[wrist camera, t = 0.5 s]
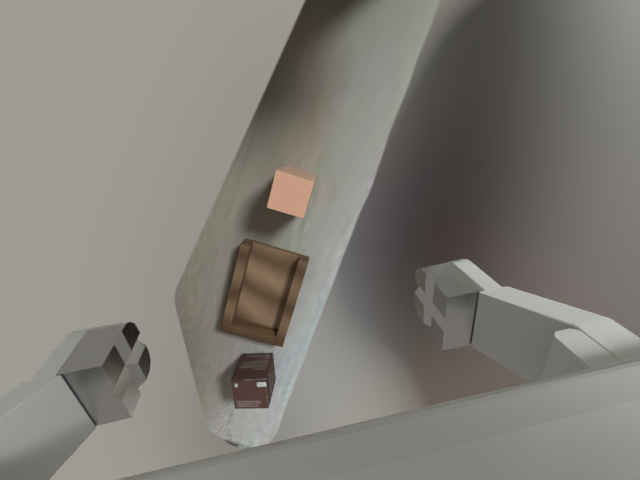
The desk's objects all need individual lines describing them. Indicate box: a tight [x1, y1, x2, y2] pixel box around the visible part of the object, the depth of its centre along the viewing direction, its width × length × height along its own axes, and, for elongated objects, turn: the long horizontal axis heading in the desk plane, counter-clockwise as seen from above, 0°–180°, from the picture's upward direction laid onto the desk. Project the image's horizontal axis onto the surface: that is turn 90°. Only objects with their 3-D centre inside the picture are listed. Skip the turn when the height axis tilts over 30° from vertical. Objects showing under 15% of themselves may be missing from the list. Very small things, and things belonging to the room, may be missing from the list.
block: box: [267, 166, 317, 219], centre depth 45 cm, size 5×5×10 cm
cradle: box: [221, 239, 309, 347], centre depth 54 cm, size 16×11×4 cm
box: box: [231, 353, 276, 409], centre depth 57 cm, size 6×6×7 cm
